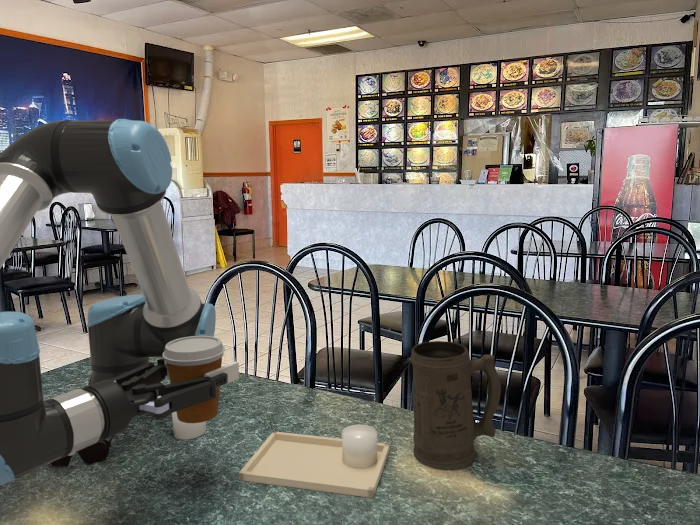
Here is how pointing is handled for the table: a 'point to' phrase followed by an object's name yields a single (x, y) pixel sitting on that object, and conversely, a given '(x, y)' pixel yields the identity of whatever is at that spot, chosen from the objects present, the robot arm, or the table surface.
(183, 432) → the rounded white cap
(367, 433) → the white rounded cylinder
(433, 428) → the beer stein
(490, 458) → the table surface
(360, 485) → the serving tray
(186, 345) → the disposable coffee cup
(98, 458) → the sunglasses
